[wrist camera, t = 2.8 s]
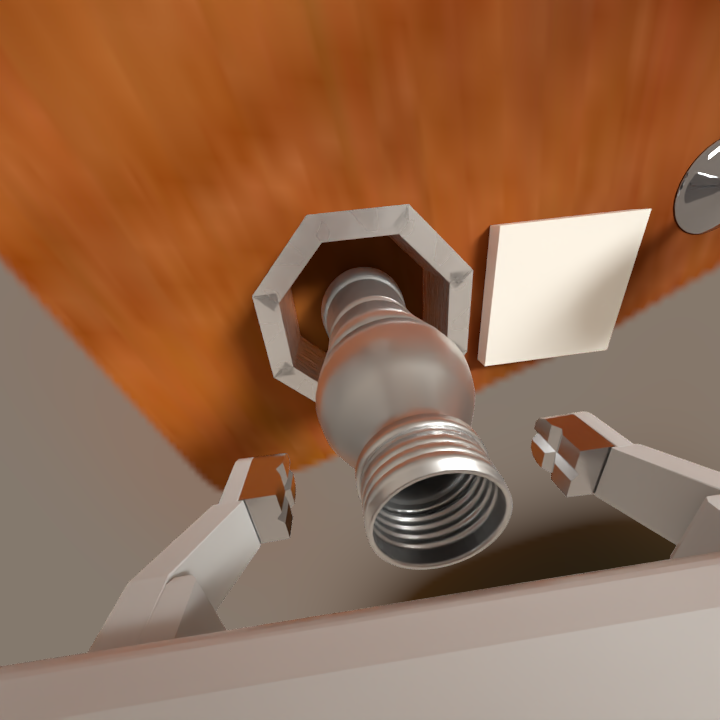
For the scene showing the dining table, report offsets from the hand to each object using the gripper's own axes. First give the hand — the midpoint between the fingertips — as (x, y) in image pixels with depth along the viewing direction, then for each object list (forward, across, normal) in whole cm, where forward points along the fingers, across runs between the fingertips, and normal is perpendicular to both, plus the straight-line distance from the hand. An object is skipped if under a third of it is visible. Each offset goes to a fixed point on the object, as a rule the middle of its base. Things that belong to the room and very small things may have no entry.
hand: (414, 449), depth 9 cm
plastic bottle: (+18, 0, -1) cm, 18 cm away
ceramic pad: (+17, -17, 0) cm, 24 cm away
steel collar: (+17, 0, -1) cm, 17 cm away
